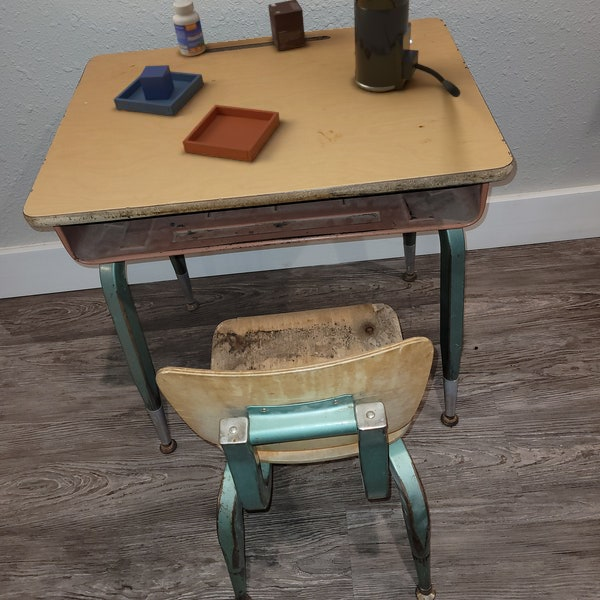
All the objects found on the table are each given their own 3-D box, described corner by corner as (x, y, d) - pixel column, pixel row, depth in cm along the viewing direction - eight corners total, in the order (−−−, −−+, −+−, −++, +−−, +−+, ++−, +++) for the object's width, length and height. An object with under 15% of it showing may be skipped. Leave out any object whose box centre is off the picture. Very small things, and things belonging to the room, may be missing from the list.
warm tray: (280, 122, 103) (278, 112, 101) (251, 161, 95) (249, 151, 94) (217, 114, 106) (215, 104, 105) (185, 152, 99) (182, 141, 97)
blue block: (174, 87, 114) (168, 64, 111) (168, 99, 111) (162, 76, 108) (152, 88, 114) (145, 65, 111) (145, 100, 111) (138, 77, 108)
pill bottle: (193, 58, 123) (182, 10, 116) (175, 53, 125) (163, 5, 118) (211, 48, 126) (201, 0, 119) (193, 43, 128) (182, -5, 121)
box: (306, 46, 123) (303, 9, 117) (277, 51, 122) (273, 14, 117) (299, 34, 127) (296, -2, 121) (271, 39, 126) (267, 3, 121)
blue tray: (203, 84, 115) (201, 74, 113) (173, 116, 107) (170, 106, 106) (149, 78, 119) (147, 68, 117) (116, 109, 111) (113, 99, 110)
